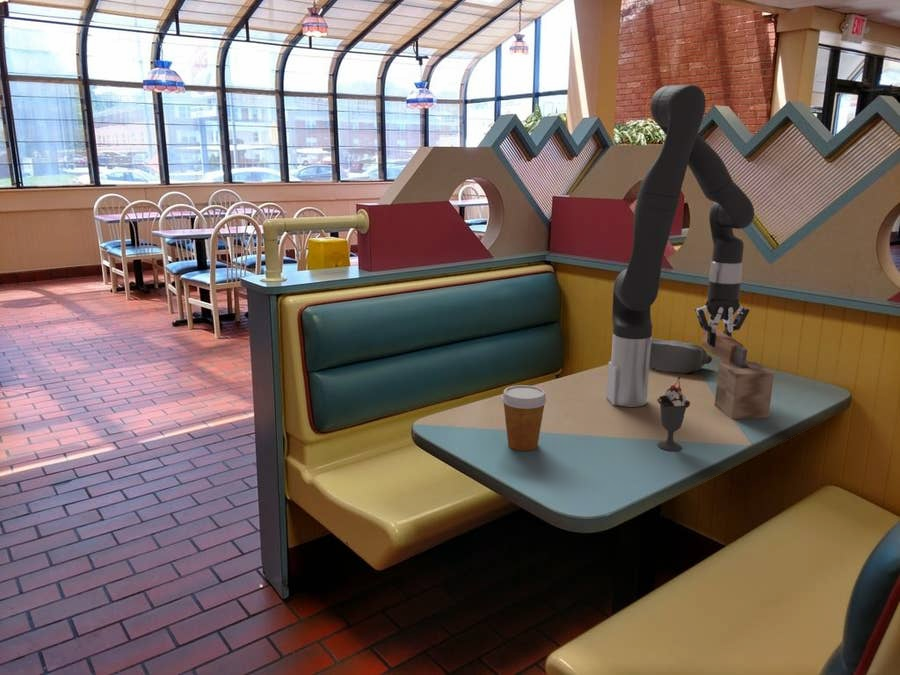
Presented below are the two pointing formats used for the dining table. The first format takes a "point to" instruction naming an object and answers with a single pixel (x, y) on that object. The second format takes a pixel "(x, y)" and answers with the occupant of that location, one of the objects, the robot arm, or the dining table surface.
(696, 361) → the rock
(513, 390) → the disposable coffee cup
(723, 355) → the bed rail
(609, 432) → the dining table surface
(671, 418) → the sundae
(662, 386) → the dining table surface
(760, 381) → the slotted tan block
